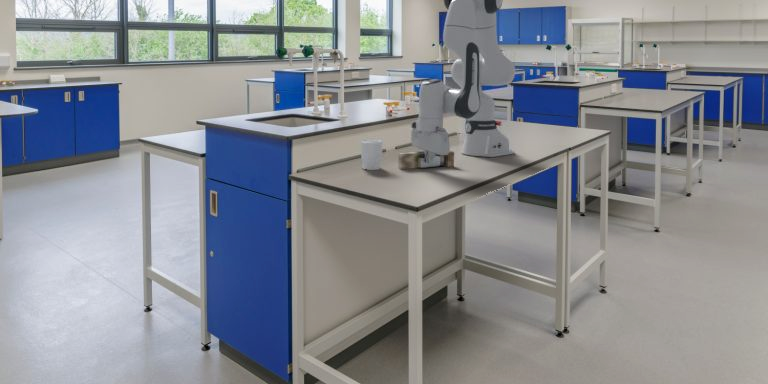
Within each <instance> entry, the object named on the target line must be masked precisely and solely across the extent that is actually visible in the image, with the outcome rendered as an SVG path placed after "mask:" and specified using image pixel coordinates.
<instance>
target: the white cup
mask: <svg viewBox="0 0 768 384" xmlns="http://www.w3.org/2000/svg"><path fill="white" fill-rule="evenodd" d="M360 152H361V153H360V154H361V155H360V156H361V167H362V169H363V170H365V169H367V170H366V171H377V170H380V169H381V167H382V165H381V164H382V158H383V157H382V155H383V140H380V139H372V138H371V139H363V140H360Z"/></svg>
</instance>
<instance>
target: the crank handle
mask: <svg viewBox="0 0 768 384" xmlns="http://www.w3.org/2000/svg"><path fill="white" fill-rule="evenodd" d="M444 163H445V156H444V155H437V156H435V157H434V159H433V164H428V163H426V157H425V154H424V153H419V157H418V168H420V169H422V168H430V167H431V168H432V167H442V166H443V167H445V166H444Z"/></svg>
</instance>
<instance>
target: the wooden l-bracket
mask: <svg viewBox="0 0 768 384" xmlns="http://www.w3.org/2000/svg"><path fill="white" fill-rule="evenodd" d="M419 153H424V150H422V151H412V152H409V151H408V152H399V153H398V165H397V166H398V169H399V170H406V169H417V168H419V167H418V157H419ZM437 155H438V154H436V155H435V156H437ZM444 156H445V163H444V166H443V167H446V168H447V167H448V168H450V167H454V166H455V165H454V164H455V151H453V150H450V151H449V154H448V155H444Z"/></svg>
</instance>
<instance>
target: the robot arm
mask: <svg viewBox="0 0 768 384" xmlns="http://www.w3.org/2000/svg"><path fill="white" fill-rule="evenodd" d="M503 1H504V0H443V4H444V6H445V8H446V10H447V13H446V17H445V21H444V26H443V33H442V34H443V35H442V41H443V45H444V46H445V48H446V50H448V51H449V52H450V53H451V54H453V55H454V56H456V57H458V58H457V59H456V60H455V61H454V62H452V65H451V68H450V75H451V78H452V80H453V81H454V82H455V83H456V84H457V85H458V86H459V87H460V88H454V87H453V88H452V87H450V86H448V85H446V84H445V83H444V82H443V80H442V79H439V78H432V79H431V78H430V79H426V80H424V81H422V82H421V84H420V87H419V91H418V92H419V93H418V94H419V95H418V107H419V108H418V109H419V113H418V119H416V120H414V121H411V123H410V128H411V132H410V133H411V134H410V135H411V137H410V139H411V146H412V148H414V149H419V150H422V151H424V154H425V157H426V163H428V164H433V159H434V157H435V155H436V154H438V155H448V154H449V151H451V149H450V148H451V146H450V136H449V135H448V132H447V130H446V128H444V115H449V116H454V117H459V118H462V119H465V124H464V129H465V133H464V142H463V146H462V148H461V151H460V152H461V154H463V155H467V156H472V157H473V156H474V157H489V158H495V157H501V156H507V155H513V154H514V155H515V154H516V153H515V150H513V149H511V148H510V141H509V138H508V137H507V136H506V135H505V134H504V133H502V132H501V131H500V130H499V129H498V127H497V126H499V127H502V124H503V122H502V120H495V108H496V107H495V106H496V103H495V100H494V98H493V97H491V95H488V94H487V93H485V92H483V90H482V87H483V86H492V87H499V86H506V85H509V84H511V83H512V82H513V80H514V79H515V76H516V67H515V64H514V63H513V61H511V60H510V59H509V58H508V57H507V56H506V55H504V53H503V52H502V50H501V48H500V46H499V43H498V33H497V30H498V29H497V12H499V10H500V9H501V8H502V5H503ZM480 55H481V56H482V57H480ZM481 86H482V87H481Z"/></svg>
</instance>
